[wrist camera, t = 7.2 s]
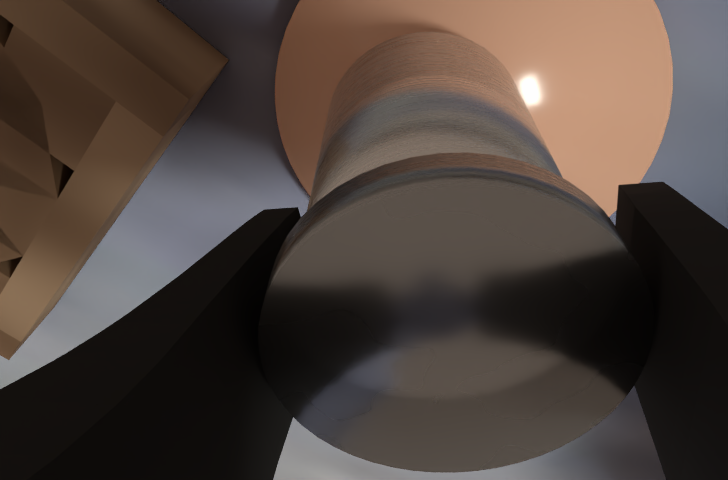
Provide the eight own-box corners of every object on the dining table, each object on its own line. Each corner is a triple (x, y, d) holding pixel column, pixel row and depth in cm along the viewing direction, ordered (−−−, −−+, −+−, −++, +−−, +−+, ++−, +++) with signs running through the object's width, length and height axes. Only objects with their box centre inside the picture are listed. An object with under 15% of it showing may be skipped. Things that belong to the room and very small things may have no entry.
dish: (461, 307, 18) (460, 321, 18) (215, 114, 16) (206, 124, 15) (752, 103, 13) (762, 114, 13) (464, -223, 11) (464, -225, 10)
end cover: (431, 256, 15) (457, 510, 10) (270, 144, 14) (186, 370, 8) (584, 116, 13) (738, 340, 7) (414, -39, 11) (441, 92, 6)
